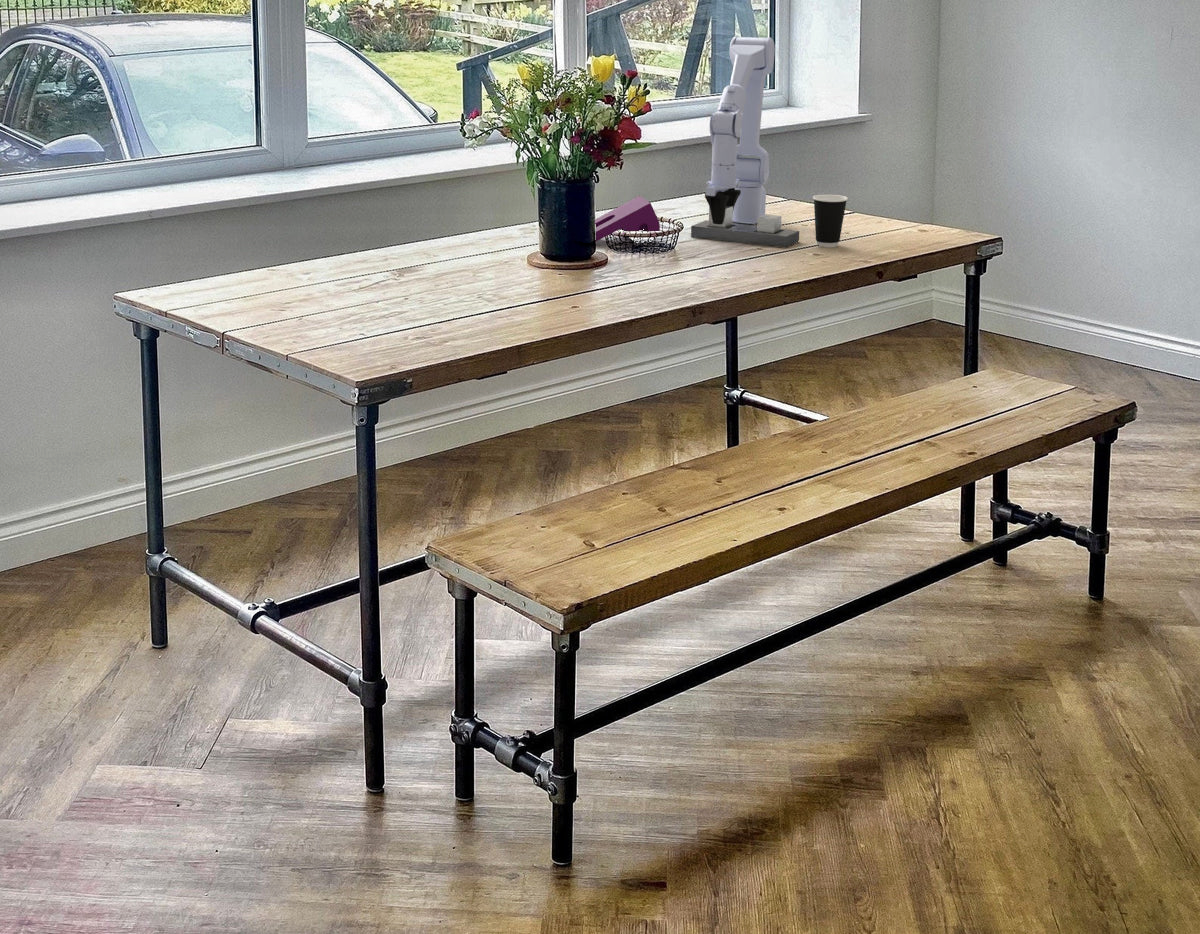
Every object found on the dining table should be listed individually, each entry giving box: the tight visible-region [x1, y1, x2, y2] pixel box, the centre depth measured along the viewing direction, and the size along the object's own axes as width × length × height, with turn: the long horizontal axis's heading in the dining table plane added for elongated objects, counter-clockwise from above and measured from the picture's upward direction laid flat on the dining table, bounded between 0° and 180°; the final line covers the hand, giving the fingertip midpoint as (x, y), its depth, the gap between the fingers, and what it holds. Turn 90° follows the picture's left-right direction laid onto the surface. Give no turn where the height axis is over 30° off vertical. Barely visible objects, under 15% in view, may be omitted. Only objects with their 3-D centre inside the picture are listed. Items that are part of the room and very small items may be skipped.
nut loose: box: [708, 206, 733, 229], centre depth 337 cm, size 4×4×6 cm
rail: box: [690, 219, 800, 248], centre depth 336 cm, size 8×24×3 cm, turn 61°
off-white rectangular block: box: [756, 213, 782, 234], centre depth 332 cm, size 4×4×6 cm
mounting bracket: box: [594, 195, 661, 242], centre depth 333 cm, size 10×8×18 cm
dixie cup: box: [812, 194, 849, 248], centre depth 329 cm, size 8×8×11 cm
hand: (721, 222), depth 338 cm, fingers closed on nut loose, 4 cm apart
